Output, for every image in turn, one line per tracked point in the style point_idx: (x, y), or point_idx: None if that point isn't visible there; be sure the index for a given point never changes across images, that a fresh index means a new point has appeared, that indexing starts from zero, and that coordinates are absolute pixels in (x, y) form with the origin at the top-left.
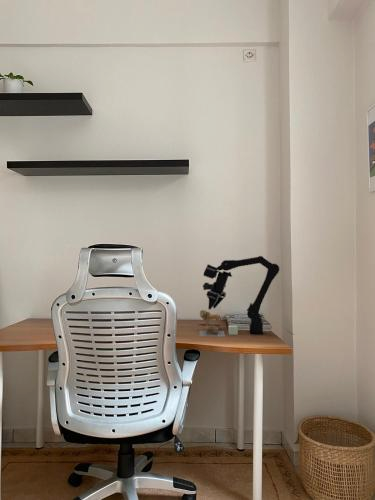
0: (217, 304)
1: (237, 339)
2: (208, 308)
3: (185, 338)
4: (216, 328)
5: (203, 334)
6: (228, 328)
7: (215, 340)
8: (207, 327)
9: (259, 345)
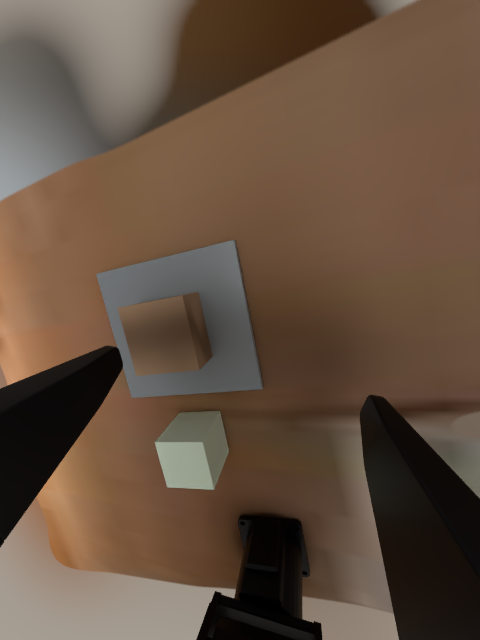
0: (377, 516)
1: (116, 443)
2: (100, 348)
3: (49, 209)
4: (143, 366)
5: (135, 287)
6: (202, 430)
7: (67, 356)
8: (154, 308)
9: (61, 501)
